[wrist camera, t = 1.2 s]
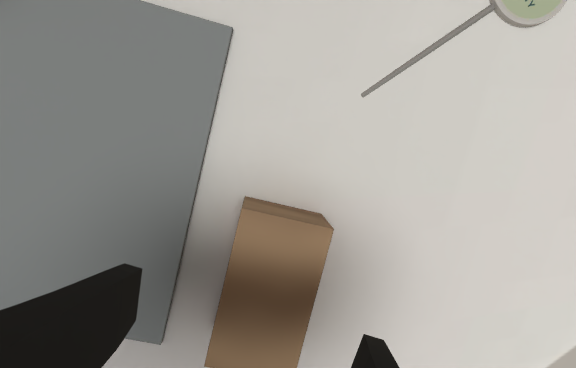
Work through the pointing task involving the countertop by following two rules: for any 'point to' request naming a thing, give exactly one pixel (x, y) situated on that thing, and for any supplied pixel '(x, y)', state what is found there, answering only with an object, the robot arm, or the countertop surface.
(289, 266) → the card box
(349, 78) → the countertop surface
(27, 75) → the mat
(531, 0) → the sign
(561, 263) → the countertop surface
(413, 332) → the countertop surface
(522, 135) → the countertop surface
